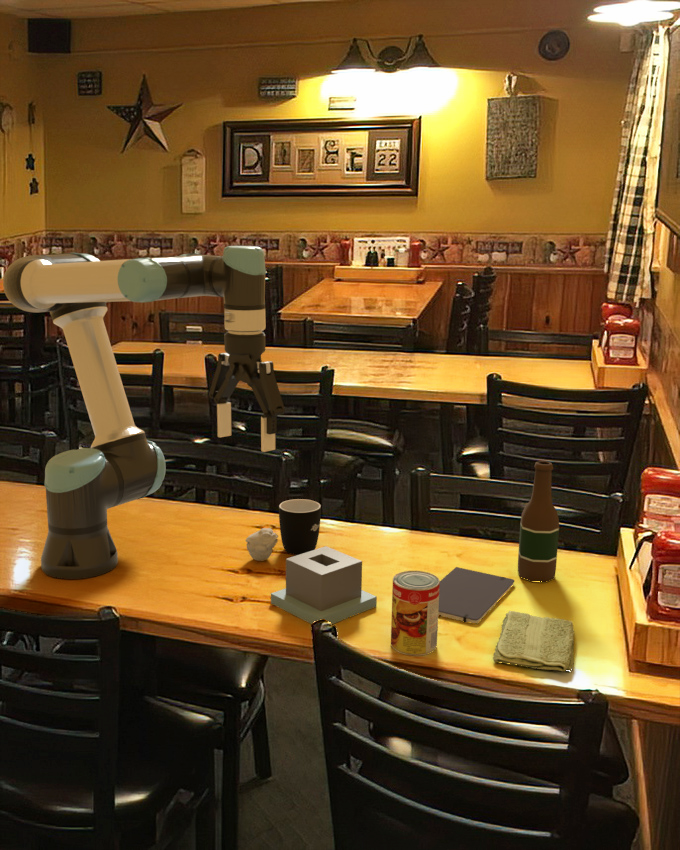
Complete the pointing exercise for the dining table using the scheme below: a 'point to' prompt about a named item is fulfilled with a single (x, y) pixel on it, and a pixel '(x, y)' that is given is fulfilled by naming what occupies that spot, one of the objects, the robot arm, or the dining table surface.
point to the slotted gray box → (323, 578)
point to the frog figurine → (261, 544)
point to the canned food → (414, 612)
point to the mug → (299, 525)
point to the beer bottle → (539, 529)
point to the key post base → (329, 614)
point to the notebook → (470, 594)
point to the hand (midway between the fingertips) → (245, 443)
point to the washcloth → (535, 642)
